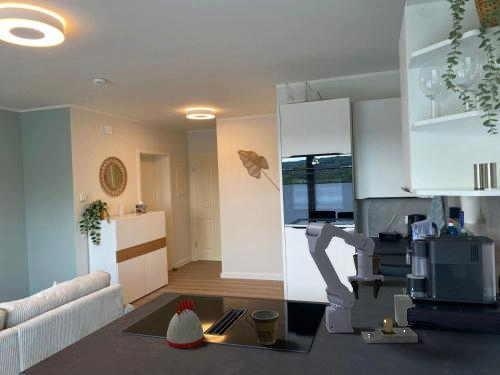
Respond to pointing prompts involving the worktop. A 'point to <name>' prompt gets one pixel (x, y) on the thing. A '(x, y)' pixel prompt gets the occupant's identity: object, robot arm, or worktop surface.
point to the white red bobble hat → (185, 327)
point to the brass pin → (388, 326)
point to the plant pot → (374, 267)
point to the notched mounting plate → (390, 336)
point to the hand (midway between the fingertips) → (366, 298)
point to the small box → (402, 309)
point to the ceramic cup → (265, 325)
